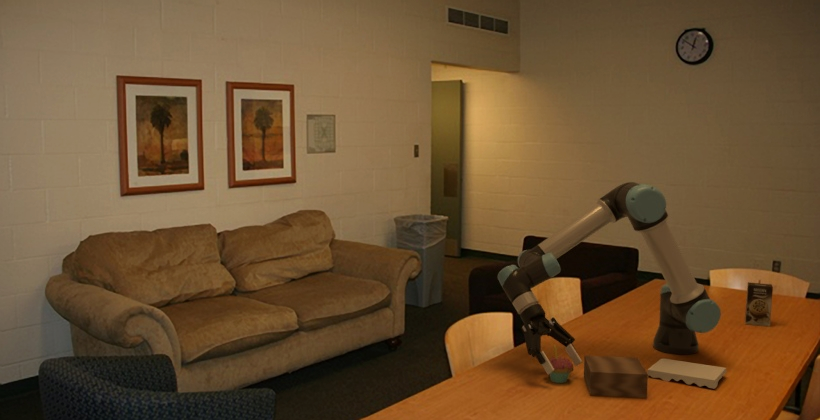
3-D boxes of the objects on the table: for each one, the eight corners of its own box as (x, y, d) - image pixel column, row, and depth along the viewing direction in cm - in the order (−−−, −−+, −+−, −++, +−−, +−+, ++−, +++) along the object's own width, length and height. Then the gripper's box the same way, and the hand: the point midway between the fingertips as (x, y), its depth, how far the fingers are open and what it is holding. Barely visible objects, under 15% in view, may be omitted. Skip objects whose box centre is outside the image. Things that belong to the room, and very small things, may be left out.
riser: (636, 379, 232) (637, 357, 232) (646, 398, 216) (647, 374, 216) (583, 377, 234) (584, 355, 233) (590, 395, 218) (591, 371, 217)
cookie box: (745, 324, 299) (747, 284, 298) (744, 320, 305) (747, 281, 304) (770, 327, 296) (773, 286, 294) (769, 323, 302) (772, 283, 300)
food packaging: (647, 380, 235) (714, 391, 223) (647, 369, 234) (714, 380, 223) (661, 368, 247) (725, 378, 236) (661, 358, 247) (726, 367, 235)
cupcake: (556, 386, 225) (557, 347, 224) (538, 378, 233) (540, 340, 231) (578, 382, 229) (580, 344, 228) (561, 374, 237) (562, 337, 235)
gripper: (548, 310, 249) (583, 366, 239) (495, 321, 233) (531, 382, 223) (561, 297, 244) (598, 354, 234) (508, 308, 229) (545, 369, 219)
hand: (565, 368), depth 229 cm, fingers open, 12 cm apart
